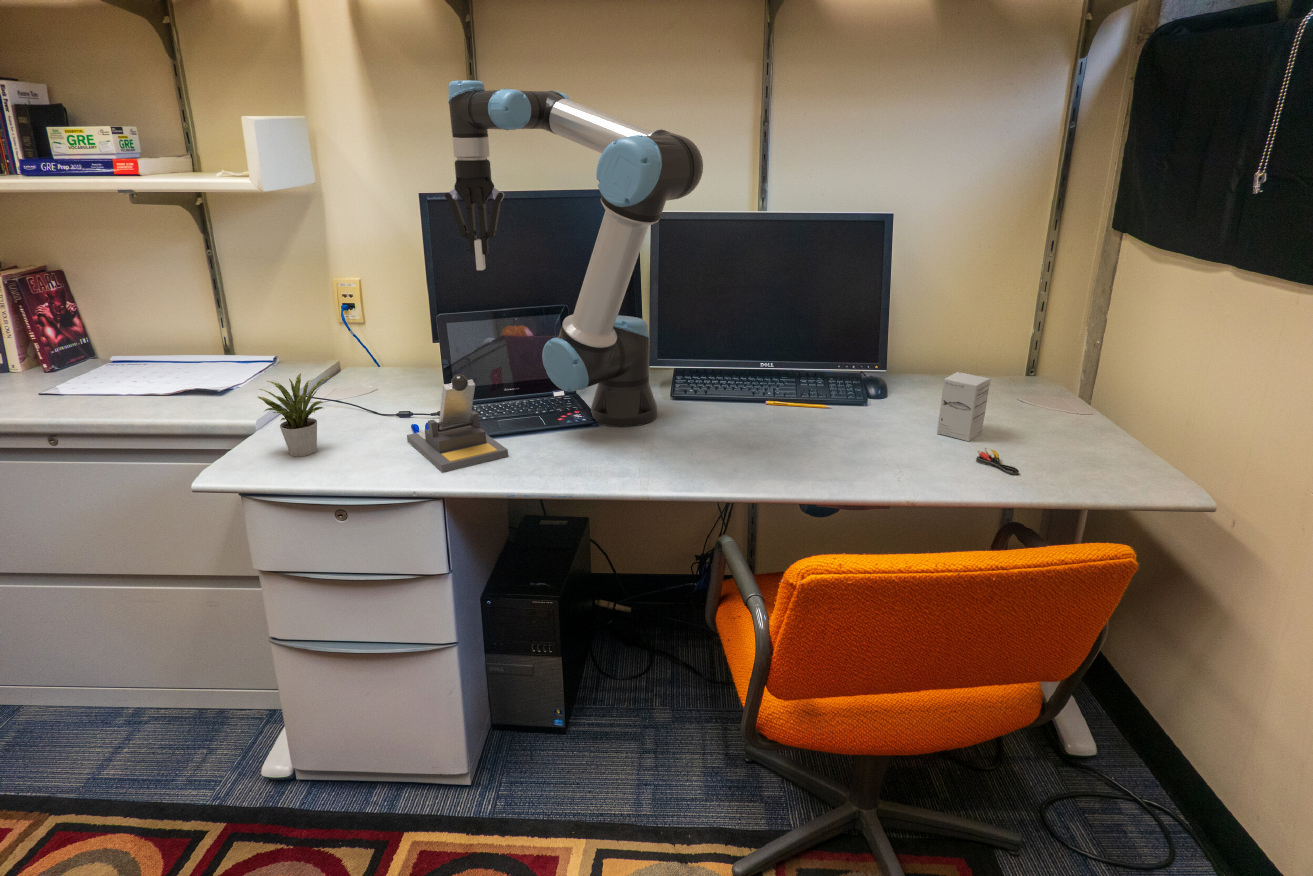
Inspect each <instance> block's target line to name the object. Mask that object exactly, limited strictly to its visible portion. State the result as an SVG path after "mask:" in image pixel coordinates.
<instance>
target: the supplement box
mask: <svg viewBox="0 0 1313 876" xmlns="http://www.w3.org/2000/svg"><path fill="white" fill-rule="evenodd" d="M991 379H992V378H990V377H985V376H980V375H974V374H971V373H965V372H961V371H957V372H954V373H952V374H951V375H948V376H947V377H945V378H944V380H943V387H942V393H941V399H940V401H941V402H940V407H939V415H938V421H937V422H938V423H937V429H936V434H937V435H942V436H946V437H952V438H955V439H958V440H963V441H965V442H970V441H972V440H973V439H975V438H977V437H978V436H979V435H981V434H983V426H984V421H985V415H986V409H987V403H988V397H989V391H990V384H991V381H992V380H991Z"/></svg>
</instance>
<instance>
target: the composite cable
mask: <svg viewBox="0 0 1313 876" xmlns="http://www.w3.org/2000/svg"><path fill="white" fill-rule="evenodd" d="M976 452H977V453H978V456H976V459H975V461H976V462H977V463H980V464H983V465H986V466H988V467H989V466H990V467H992V468H995V469H998V470H999V471H1001V472H1003V473H1004V474H1008V475H1010V476H1018V475H1020V474H1019V472H1020V471H1019V469H1018V468H1017V467H1015V466H1012V465H1008V464H1002V463H1001V459H1000V455H999V453H998V452H997V450H995V449H990V448H987V447H984V451H980V450H977V451H976Z"/></svg>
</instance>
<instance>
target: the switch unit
mask: <svg viewBox="0 0 1313 876" xmlns="http://www.w3.org/2000/svg"><path fill="white" fill-rule="evenodd" d="M471 419H472V425H471V426H466V427H461V428H457V429H452V430H447V431H443V432H438V427H437V423H438V421H436V420H435V419H430V420H427V425H428V428H427V429H425V430H423V431H420V432H415V433H410V434H406V438H407V439H406V440H407V443H409V444H410V445H411V446H412V447H413V448H414V449H415V450H416V451H417V452H418V453H419V454H421V456H423V457H424V458H426V460H427V461H429V462H430V463H431V464H432V465H433V466H435V468H437V469H438V470H439V472H441V473H445V472H450V471H453V470H457V469H462V468H466V467H469V466H474V465H478V464H483V463H486V462H487V463H488V462H491V461H495V460H499V459H503V458H507V457H509V450H508V448H506V447H505V446H503V445H502V444H501V443H500V442H498V441H496V440H495V439H494V438H493V437H491V436H489V435H488V434H487V433H486V430H484V429H483V428H481V425H480V424H481V423H480V422H481V421H480V414H479V412H478V411H476V410H474V411H471Z"/></svg>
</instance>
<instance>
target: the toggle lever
mask: <svg viewBox="0 0 1313 876" xmlns="http://www.w3.org/2000/svg"><path fill="white" fill-rule="evenodd" d="M450 382H451V383H446V384H445V383H443V384H442V391H441V401H440V410H439V411H440V412H439V420H438V421H437V427H438V432H443V431H447V430H452V429H457V428H461V427H466V426H471V425H472V419H471V412H473V411H472V410H473V403H474V395H475V388H476V383H475V382H474V380H473V378H472V379H468V378H467V377H466V376H465V375H464V374H455V375H454V376H453V377H452V378H451V381H450Z"/></svg>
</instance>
